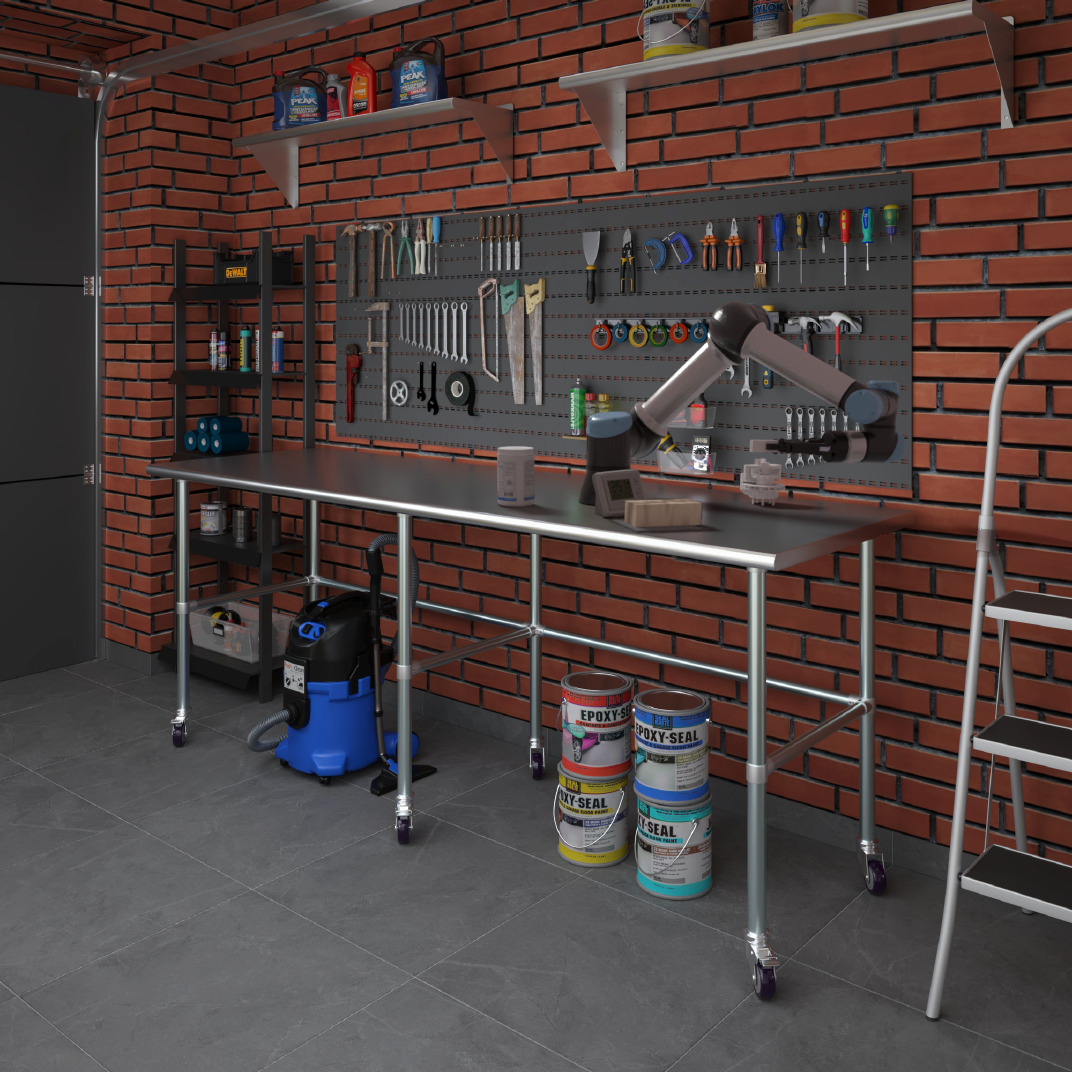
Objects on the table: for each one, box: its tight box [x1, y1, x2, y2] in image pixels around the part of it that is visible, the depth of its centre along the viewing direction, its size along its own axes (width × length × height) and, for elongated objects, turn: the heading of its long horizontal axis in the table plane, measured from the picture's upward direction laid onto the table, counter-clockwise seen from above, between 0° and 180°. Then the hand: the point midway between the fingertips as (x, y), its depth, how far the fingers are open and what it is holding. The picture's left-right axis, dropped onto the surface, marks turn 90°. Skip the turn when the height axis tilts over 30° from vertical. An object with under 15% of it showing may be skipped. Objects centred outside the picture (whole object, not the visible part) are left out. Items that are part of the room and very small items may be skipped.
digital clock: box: [592, 468, 647, 518], centre depth 252 cm, size 16×9×11 cm, turn 122°
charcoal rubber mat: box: [611, 518, 703, 533], centre depth 236 cm, size 16×16×1 cm
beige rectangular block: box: [624, 498, 704, 527], centre depth 236 cm, size 7×5×16 cm
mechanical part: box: [739, 458, 786, 506], centre depth 274 cm, size 11×12×12 cm
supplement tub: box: [496, 445, 536, 508], centre depth 266 cm, size 10×10×15 cm
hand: (751, 445), depth 239 cm, fingers closed
